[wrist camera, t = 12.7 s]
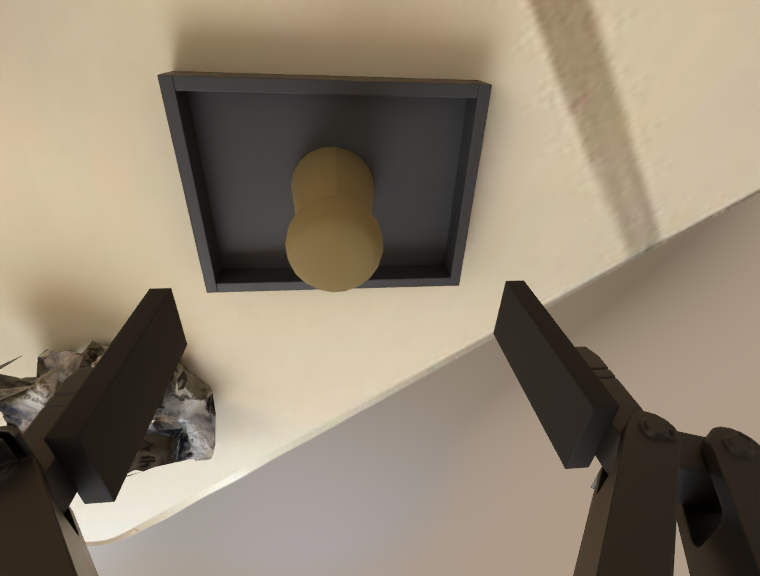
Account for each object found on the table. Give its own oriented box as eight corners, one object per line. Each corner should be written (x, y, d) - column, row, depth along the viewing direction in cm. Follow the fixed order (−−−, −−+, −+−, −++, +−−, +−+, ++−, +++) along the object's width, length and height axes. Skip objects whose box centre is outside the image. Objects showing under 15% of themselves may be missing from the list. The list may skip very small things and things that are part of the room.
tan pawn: (354, 238, 32) (365, 322, 23) (279, 210, 30) (258, 289, 21) (387, 167, 29) (415, 230, 20) (307, 131, 27) (297, 182, 18)
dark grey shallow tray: (478, 80, 27) (492, 84, 25) (450, 269, 35) (459, 285, 33) (172, 70, 25) (156, 74, 23) (215, 274, 33) (206, 293, 30)
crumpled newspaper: (119, 484, 40) (-53, 499, 27) (127, 377, 45) (-18, 343, 31) (229, 461, 39) (109, 463, 26) (226, 354, 44) (122, 307, 30)
